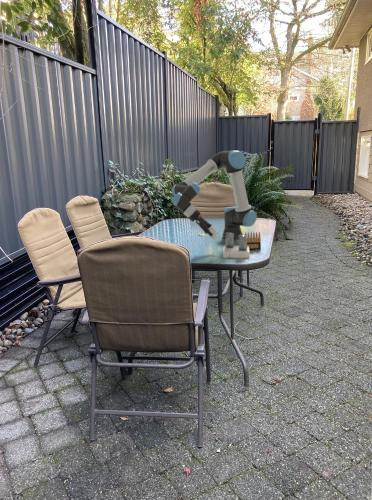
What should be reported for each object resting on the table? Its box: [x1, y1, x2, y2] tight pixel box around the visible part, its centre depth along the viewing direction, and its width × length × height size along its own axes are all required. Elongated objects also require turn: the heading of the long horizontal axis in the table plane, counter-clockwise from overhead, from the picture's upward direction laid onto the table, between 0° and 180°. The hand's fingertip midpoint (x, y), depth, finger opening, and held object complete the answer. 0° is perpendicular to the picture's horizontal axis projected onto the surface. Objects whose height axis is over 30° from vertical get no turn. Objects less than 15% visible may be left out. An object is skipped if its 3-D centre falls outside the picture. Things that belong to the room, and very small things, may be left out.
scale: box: [222, 245, 251, 259], centre depth 241 cm, size 17×16×4 cm
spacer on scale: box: [238, 234, 248, 251], centre depth 235 cm, size 5×5×9 cm
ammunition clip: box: [244, 231, 262, 251], centre depth 250 cm, size 11×2×12 cm, turn 88°
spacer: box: [225, 232, 235, 248], centre depth 243 cm, size 5×5×9 cm
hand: (216, 236), depth 243 cm, fingers open, 13 cm apart
